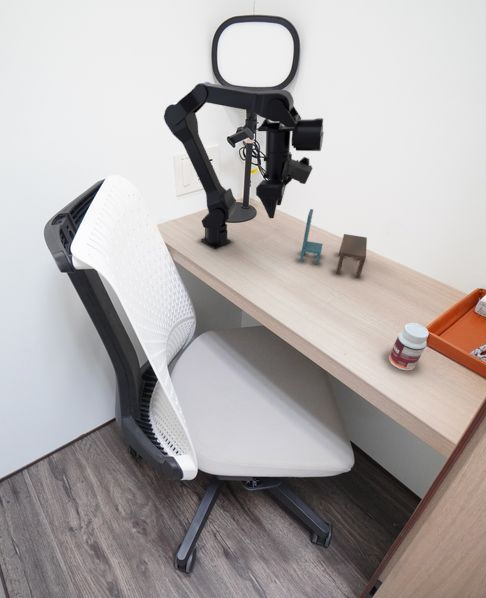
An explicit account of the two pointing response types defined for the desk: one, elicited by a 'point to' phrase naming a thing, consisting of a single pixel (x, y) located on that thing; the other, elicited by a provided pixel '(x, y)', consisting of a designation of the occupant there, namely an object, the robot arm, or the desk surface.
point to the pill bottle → (409, 346)
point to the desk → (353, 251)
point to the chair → (310, 246)
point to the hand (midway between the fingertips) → (275, 211)
